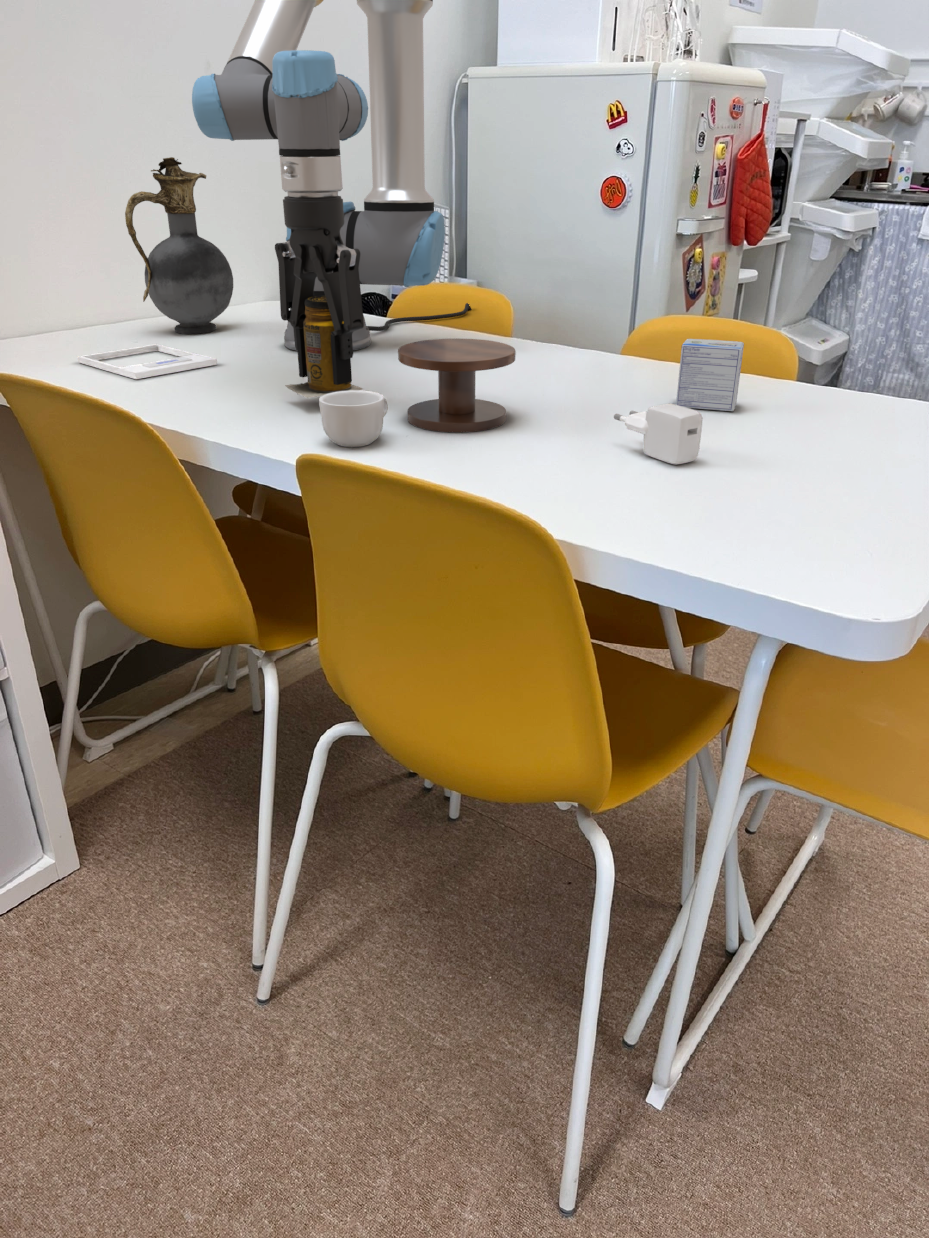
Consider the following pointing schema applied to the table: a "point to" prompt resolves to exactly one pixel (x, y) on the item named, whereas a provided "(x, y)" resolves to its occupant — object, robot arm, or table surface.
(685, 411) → the power adapter
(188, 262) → the pitcher
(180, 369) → the photo frame
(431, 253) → the robot arm
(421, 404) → the stand
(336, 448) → the table surface
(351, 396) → the teacup
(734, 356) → the medicine box
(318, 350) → the condiment
